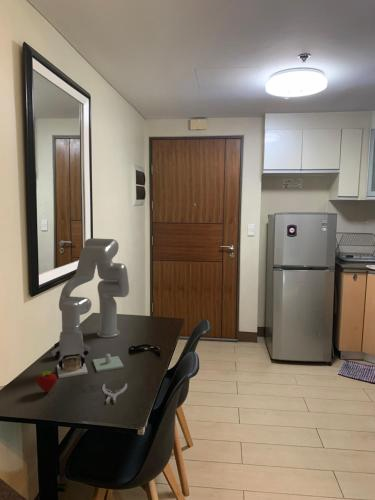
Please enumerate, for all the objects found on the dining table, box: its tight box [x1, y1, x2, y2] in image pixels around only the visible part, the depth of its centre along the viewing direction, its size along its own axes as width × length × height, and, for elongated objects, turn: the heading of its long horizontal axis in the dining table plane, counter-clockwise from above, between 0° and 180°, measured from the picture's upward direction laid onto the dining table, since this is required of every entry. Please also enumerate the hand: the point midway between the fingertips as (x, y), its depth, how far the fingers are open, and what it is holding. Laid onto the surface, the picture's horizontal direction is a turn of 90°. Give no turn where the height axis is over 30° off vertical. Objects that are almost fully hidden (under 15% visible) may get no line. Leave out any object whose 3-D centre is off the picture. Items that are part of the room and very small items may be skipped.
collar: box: [62, 356, 81, 372], centre depth 165 cm, size 7×7×4 cm
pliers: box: [101, 382, 128, 405], centre depth 146 cm, size 10×2×15 cm
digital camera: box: [54, 341, 80, 360], centre depth 181 cm, size 10×5×7 cm, turn 126°
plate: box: [92, 353, 125, 373], centre depth 172 cm, size 12×12×5 cm
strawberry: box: [36, 370, 58, 393], centre depth 145 cm, size 6×8×10 cm
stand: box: [56, 360, 89, 379], centre depth 166 cm, size 12×12×4 cm
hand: (71, 366), depth 166 cm, fingers open, 8 cm apart
